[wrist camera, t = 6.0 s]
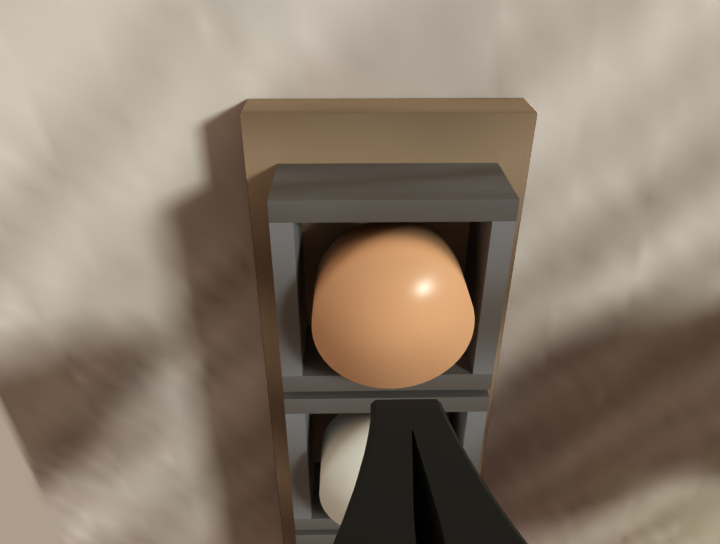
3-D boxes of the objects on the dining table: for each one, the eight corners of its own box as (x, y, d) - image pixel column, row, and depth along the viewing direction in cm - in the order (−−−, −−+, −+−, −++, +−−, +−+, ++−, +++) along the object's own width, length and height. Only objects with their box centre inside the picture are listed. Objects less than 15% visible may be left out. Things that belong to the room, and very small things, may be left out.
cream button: (467, 451, 21) (479, 500, 19) (371, 502, 22) (373, 551, 20) (396, 379, 19) (401, 425, 17) (296, 439, 20) (291, 487, 19)
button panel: (247, 98, 17) (223, 145, 14) (523, 98, 17) (566, 144, 14) (291, 560, 29) (283, 648, 25) (457, 557, 29) (472, 645, 25)
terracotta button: (489, 295, 17) (505, 337, 16) (374, 365, 19) (376, 411, 17) (405, 190, 16) (412, 224, 14) (284, 275, 17) (277, 316, 15)
